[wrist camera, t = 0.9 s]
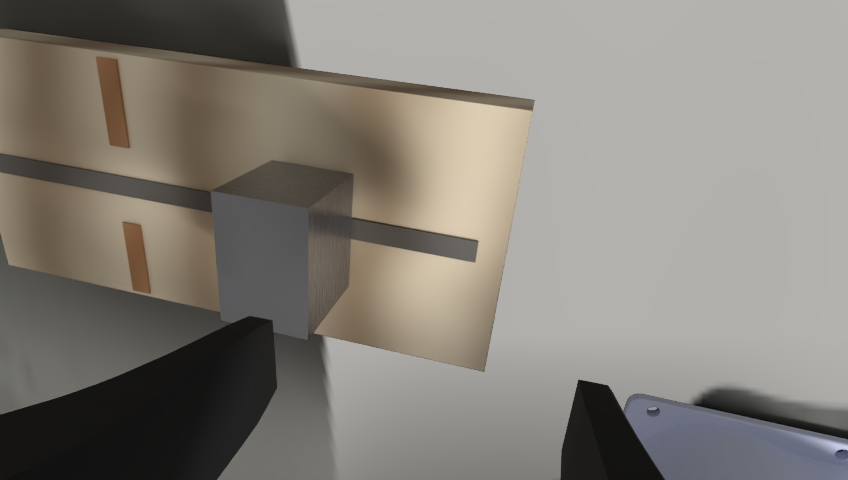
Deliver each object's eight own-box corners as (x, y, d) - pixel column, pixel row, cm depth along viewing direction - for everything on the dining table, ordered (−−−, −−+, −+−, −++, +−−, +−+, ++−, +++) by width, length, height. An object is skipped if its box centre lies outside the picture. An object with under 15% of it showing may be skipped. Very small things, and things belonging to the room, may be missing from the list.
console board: (534, 99, 18) (532, 111, 15) (490, 337, 22) (483, 373, 20) (6, 28, 21) (-58, 29, 19) (54, 244, 25) (7, 265, 23)
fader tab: (353, 173, 17) (308, 208, 14) (349, 286, 19) (307, 340, 16) (272, 160, 18) (210, 190, 15) (275, 270, 20) (220, 320, 16)
